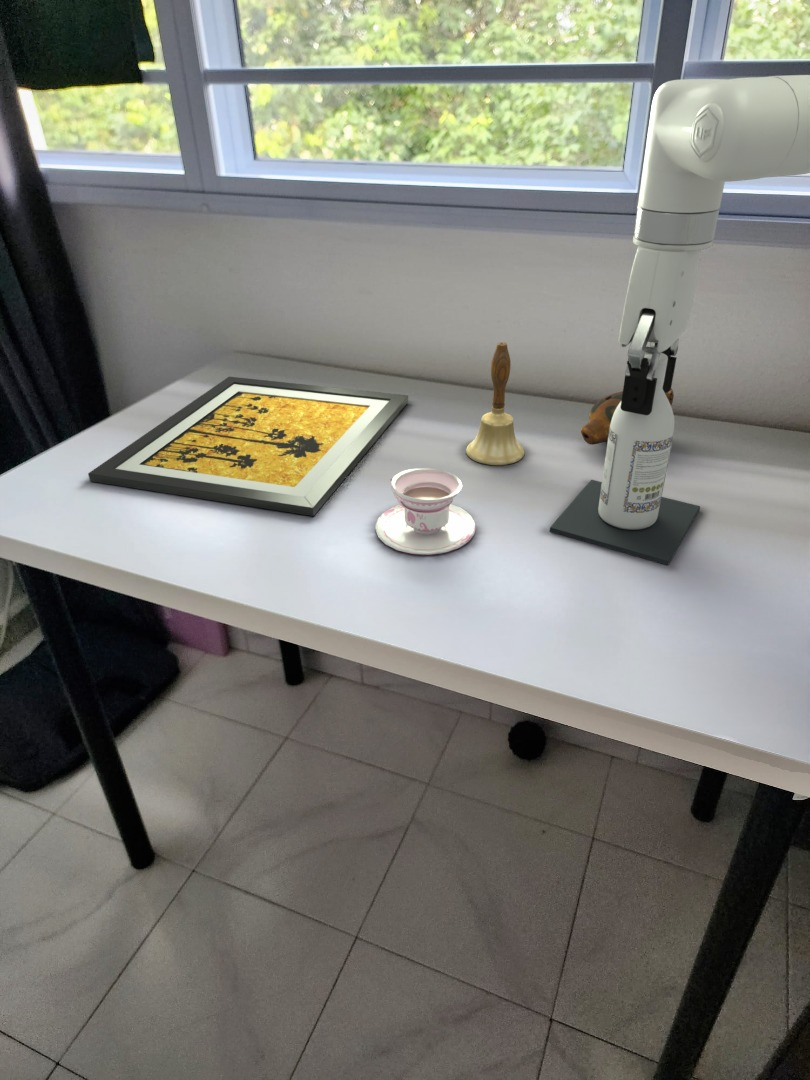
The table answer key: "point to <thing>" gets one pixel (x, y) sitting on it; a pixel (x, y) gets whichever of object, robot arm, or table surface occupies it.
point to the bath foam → (637, 461)
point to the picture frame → (257, 444)
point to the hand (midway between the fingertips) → (646, 399)
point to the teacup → (425, 513)
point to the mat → (643, 543)
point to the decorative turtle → (605, 417)
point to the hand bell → (497, 420)
